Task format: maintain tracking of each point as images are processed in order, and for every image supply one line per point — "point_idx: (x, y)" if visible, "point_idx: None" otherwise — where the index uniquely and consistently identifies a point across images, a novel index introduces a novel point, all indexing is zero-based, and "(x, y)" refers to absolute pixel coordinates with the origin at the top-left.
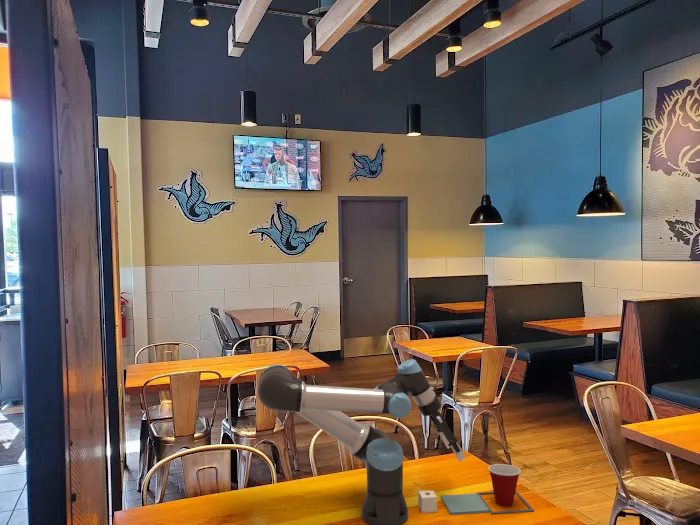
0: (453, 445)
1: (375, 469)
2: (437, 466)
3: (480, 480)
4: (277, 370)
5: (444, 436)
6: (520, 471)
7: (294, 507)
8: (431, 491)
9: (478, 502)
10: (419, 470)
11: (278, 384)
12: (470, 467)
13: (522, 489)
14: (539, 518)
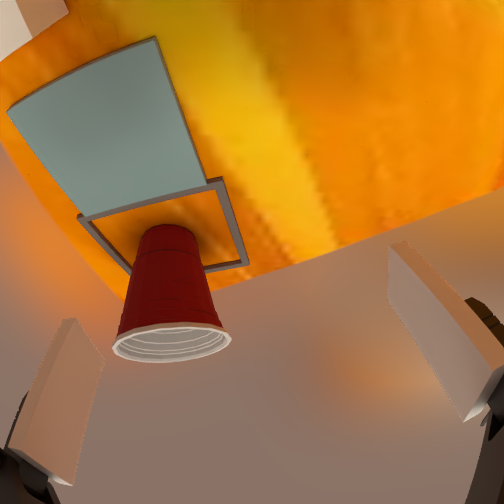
0: (7, 452)
1: None
2: (486, 86)
3: (338, 195)
4: None
5: (448, 349)
6: (163, 362)
7: None
8: (14, 36)
9: (126, 189)
10: (480, 4)
11: None
12: (435, 181)
13: (263, 271)
14: (111, 285)
